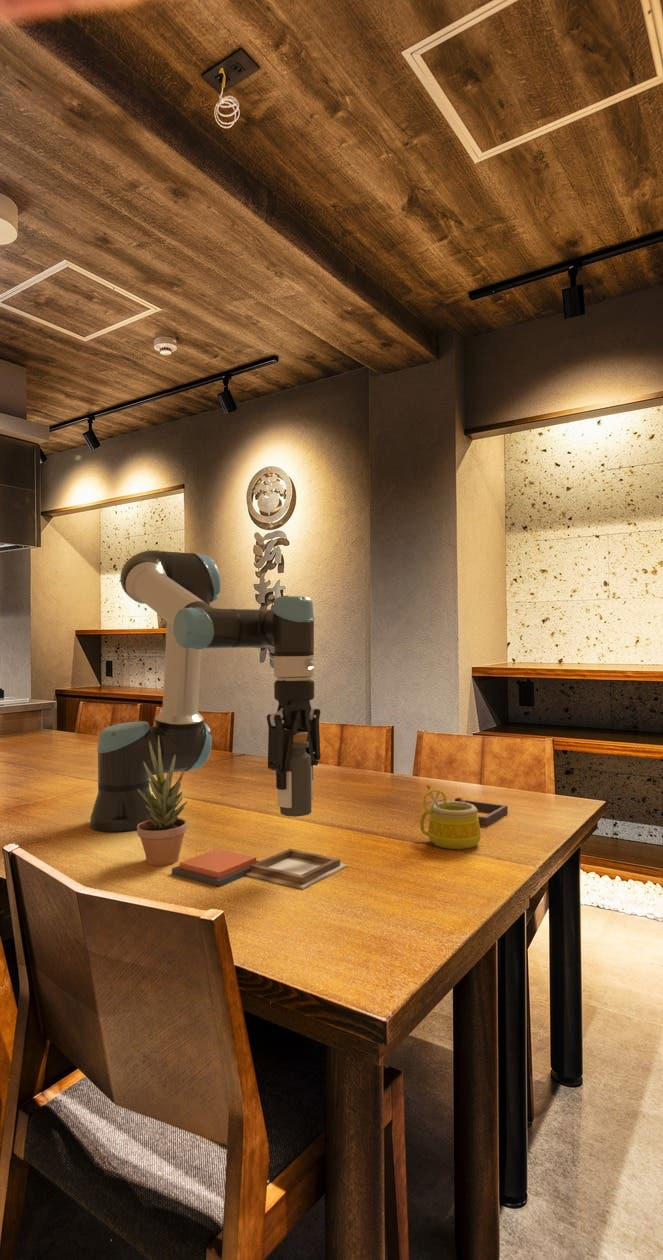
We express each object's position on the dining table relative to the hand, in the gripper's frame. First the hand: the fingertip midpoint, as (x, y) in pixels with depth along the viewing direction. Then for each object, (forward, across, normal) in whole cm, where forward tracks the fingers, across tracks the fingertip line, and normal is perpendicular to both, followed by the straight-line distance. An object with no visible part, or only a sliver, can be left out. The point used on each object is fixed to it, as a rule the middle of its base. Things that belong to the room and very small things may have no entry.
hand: (295, 802), depth 126 cm
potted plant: (+13, -10, +25) cm, 30 cm away
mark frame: (+13, 0, 0) cm, 13 cm away
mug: (+13, +31, -17) cm, 38 cm away
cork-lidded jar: (+2, 0, 0) cm, 2 cm away
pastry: (+13, +52, -10) cm, 55 cm away
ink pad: (+12, -8, +12) cm, 19 cm away
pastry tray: (+12, +54, -12) cm, 57 cm away
